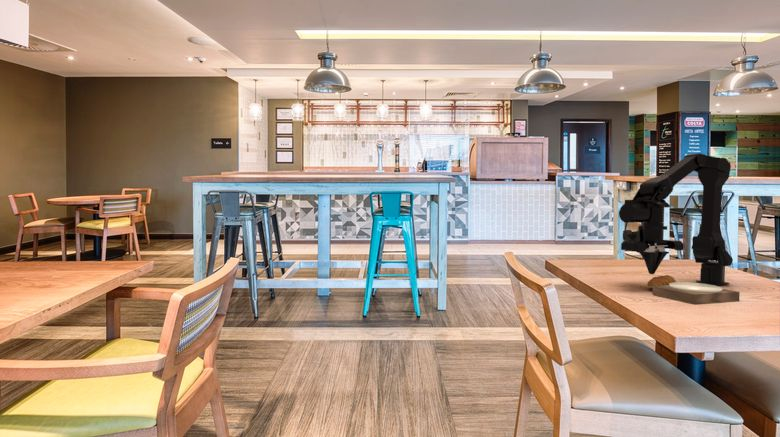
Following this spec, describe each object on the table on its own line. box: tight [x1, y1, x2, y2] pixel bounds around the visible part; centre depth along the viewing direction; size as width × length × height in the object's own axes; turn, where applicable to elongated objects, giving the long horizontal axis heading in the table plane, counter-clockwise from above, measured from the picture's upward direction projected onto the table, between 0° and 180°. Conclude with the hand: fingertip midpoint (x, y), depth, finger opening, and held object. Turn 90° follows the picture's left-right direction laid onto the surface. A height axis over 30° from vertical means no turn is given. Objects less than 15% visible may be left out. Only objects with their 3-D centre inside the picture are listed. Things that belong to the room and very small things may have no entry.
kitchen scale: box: [652, 281, 741, 305], centre depth 131 cm, size 16×13×3 cm
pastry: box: [646, 274, 677, 289], centre depth 142 cm, size 9×7×4 cm
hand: (651, 274), depth 143 cm, fingers closed
